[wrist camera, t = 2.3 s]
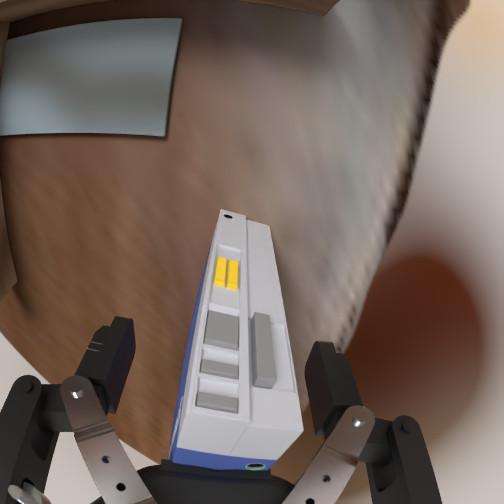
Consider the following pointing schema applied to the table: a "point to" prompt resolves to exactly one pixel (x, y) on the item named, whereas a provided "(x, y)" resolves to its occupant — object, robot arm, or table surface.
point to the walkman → (237, 359)
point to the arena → (90, 79)
